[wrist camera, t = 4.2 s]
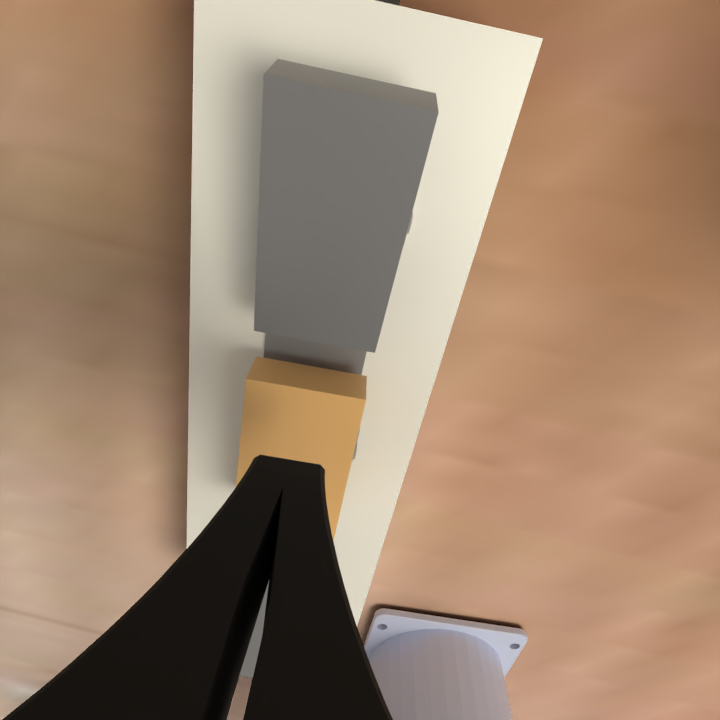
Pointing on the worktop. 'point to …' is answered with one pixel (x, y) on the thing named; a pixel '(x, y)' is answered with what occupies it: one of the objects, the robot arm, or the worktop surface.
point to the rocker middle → (303, 420)
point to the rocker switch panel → (419, 254)
